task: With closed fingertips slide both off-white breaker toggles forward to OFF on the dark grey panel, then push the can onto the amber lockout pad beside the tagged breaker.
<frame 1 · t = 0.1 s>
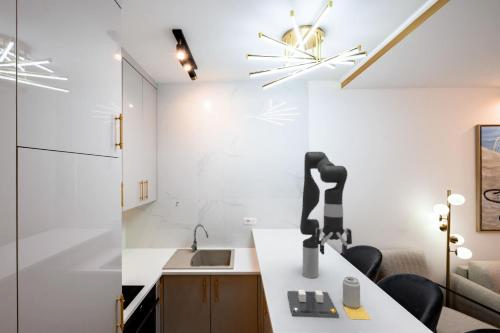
hand: (333, 253, 97), 29 cm above the table, fingers open, 8 cm apart
breaker 1: (301, 295, 112), point 4 cm above the table, slide at 0.0 cm
panel: (310, 304, 111), on the table
can: (351, 305, 111), on the table, touching lockout pad
lockout pad: (356, 312, 105), on the table
breaker 2: (319, 296, 112), point 4 cm above the table, slide at 0.0 cm
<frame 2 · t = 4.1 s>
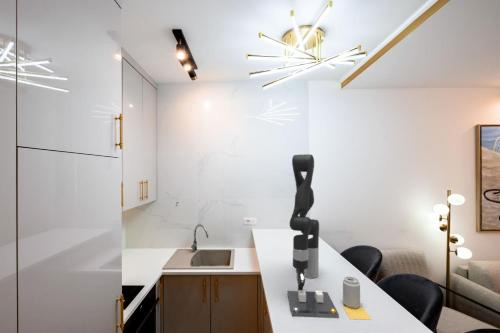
hand: (300, 292, 116), 3 cm above the table, fingers closed
breaker 1: (301, 295, 112), point 4 cm above the table, slide at 0.0 cm, touching gripper
everything else where it was.
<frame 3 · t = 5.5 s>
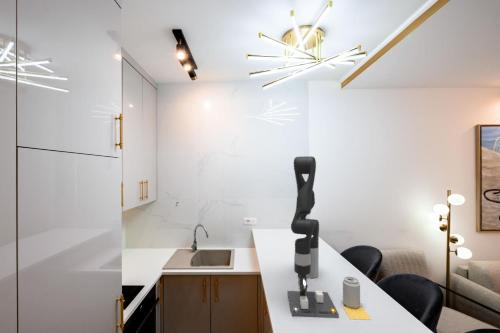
hand: (302, 298, 111), 3 cm above the table, fingers closed
breaker 1: (303, 302, 107), point 4 cm above the table, slide at 5.4 cm, touching gripper
everything else where it was.
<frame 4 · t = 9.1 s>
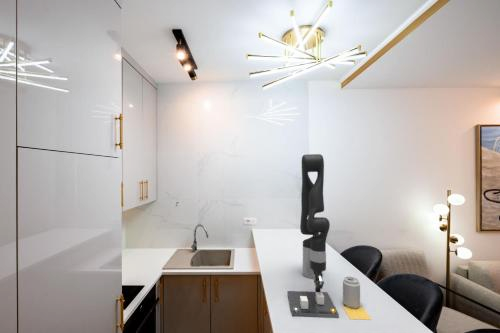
hand: (317, 294, 114), 3 cm above the table, fingers closed
breaker 1: (303, 302, 107), point 4 cm above the table, slide at 5.4 cm
breaker 2: (319, 298, 110), point 4 cm above the table, slide at 1.6 cm, touching gripper
everything else where it was.
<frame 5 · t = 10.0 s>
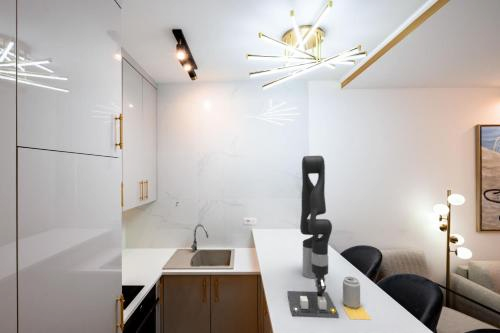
hand: (319, 299, 110), 3 cm above the table, fingers closed
breaker 2: (321, 302, 107), point 4 cm above the table, slide at 5.4 cm, touching gripper
everything else where it was.
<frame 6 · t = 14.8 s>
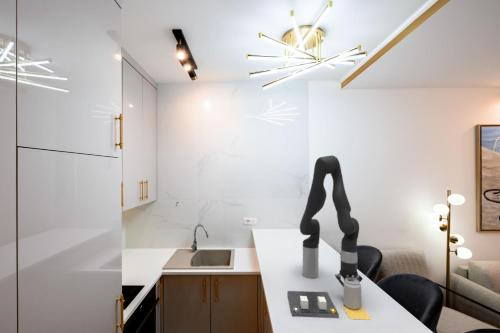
hand: (348, 295, 115), 3 cm above the table, fingers closed
can: (352, 306, 110), on the table, touching gripper
breaker 2: (321, 302, 107), point 4 cm above the table, slide at 5.4 cm
everything else where it was.
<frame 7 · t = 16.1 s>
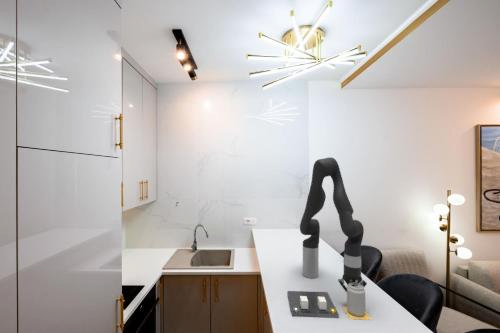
hand: (351, 300, 110), 2 cm above the table, fingers closed
can: (355, 312, 105), resting on lockout pad, touching gripper
everything else where it was.
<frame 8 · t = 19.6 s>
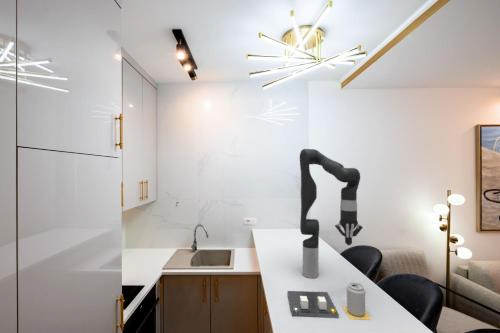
hand: (348, 244, 115), 27 cm above the table, fingers closed
can: (355, 312, 105), resting on lockout pad
everything else where it was.
at the end: breaker 1 slide at 5.4 cm; breaker 2 slide at 5.4 cm; can 0.3 cm from the lockout pad (horizontally) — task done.
